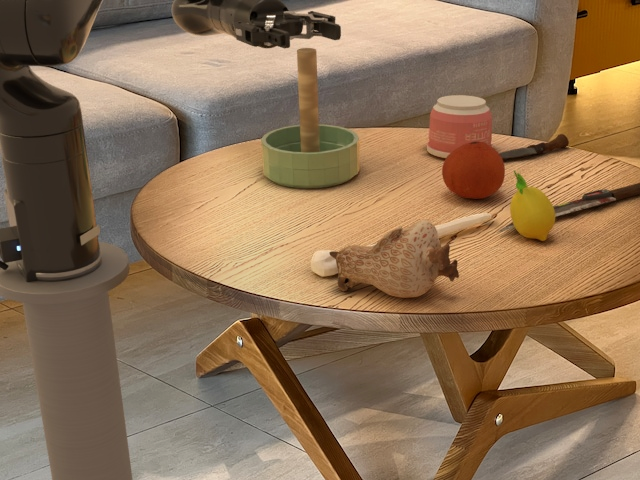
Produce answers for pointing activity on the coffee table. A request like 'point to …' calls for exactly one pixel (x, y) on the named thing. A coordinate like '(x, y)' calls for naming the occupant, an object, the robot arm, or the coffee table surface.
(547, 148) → the knife
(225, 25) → the robot arm
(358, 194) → the coffee table surface
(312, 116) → the stick
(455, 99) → the container
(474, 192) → the fruit
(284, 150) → the bowl
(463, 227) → the cream knobbed rod
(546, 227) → the lemon
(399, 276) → the figurine
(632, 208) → the coffee table surface
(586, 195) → the knife
